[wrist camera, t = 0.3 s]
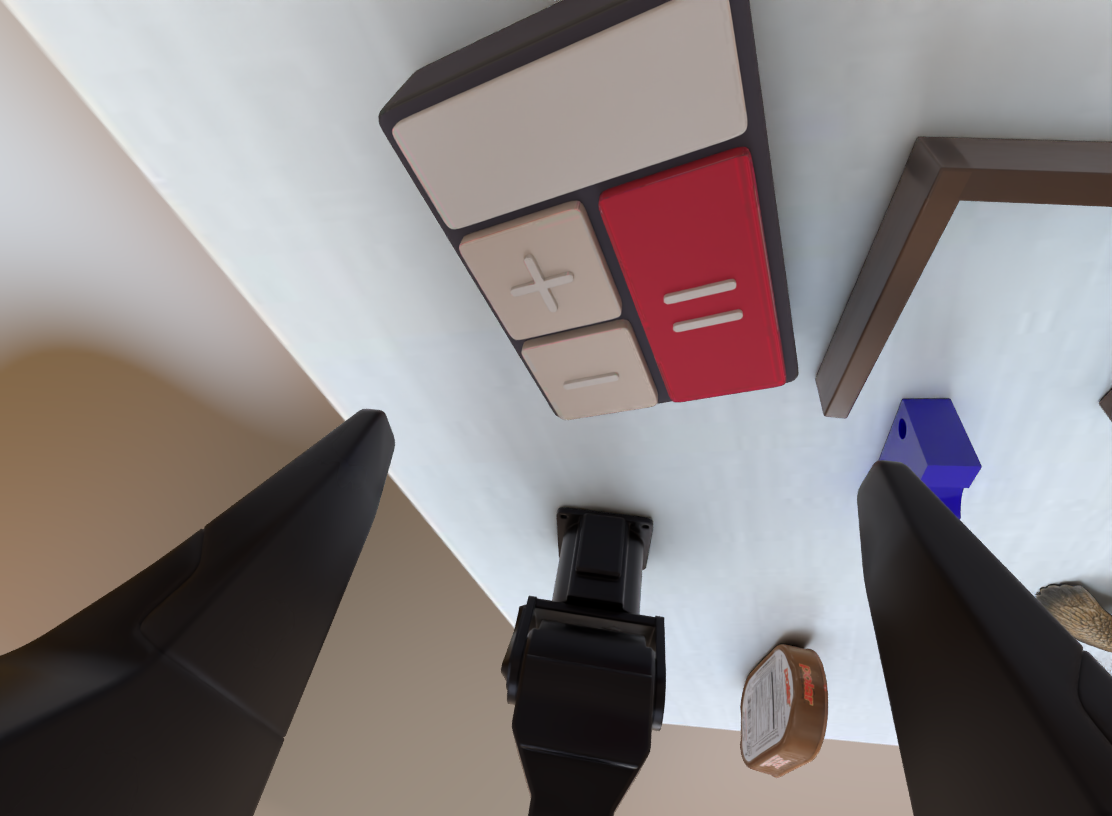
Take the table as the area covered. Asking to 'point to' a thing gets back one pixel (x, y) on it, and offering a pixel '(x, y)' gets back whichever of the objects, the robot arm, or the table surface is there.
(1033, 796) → the robot arm
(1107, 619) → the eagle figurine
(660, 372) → the calculator
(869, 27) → the table surface
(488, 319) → the table surface
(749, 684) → the tin
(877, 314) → the square wooden border
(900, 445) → the cable holder
